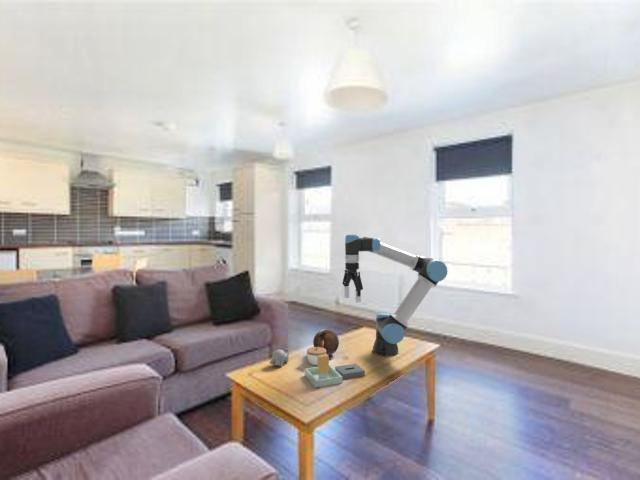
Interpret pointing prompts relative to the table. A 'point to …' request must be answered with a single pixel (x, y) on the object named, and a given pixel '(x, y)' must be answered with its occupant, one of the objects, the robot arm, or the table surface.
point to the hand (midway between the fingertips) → (352, 299)
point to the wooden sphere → (326, 341)
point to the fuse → (323, 366)
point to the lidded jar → (315, 354)
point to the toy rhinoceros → (279, 358)
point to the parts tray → (314, 379)
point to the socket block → (350, 371)
